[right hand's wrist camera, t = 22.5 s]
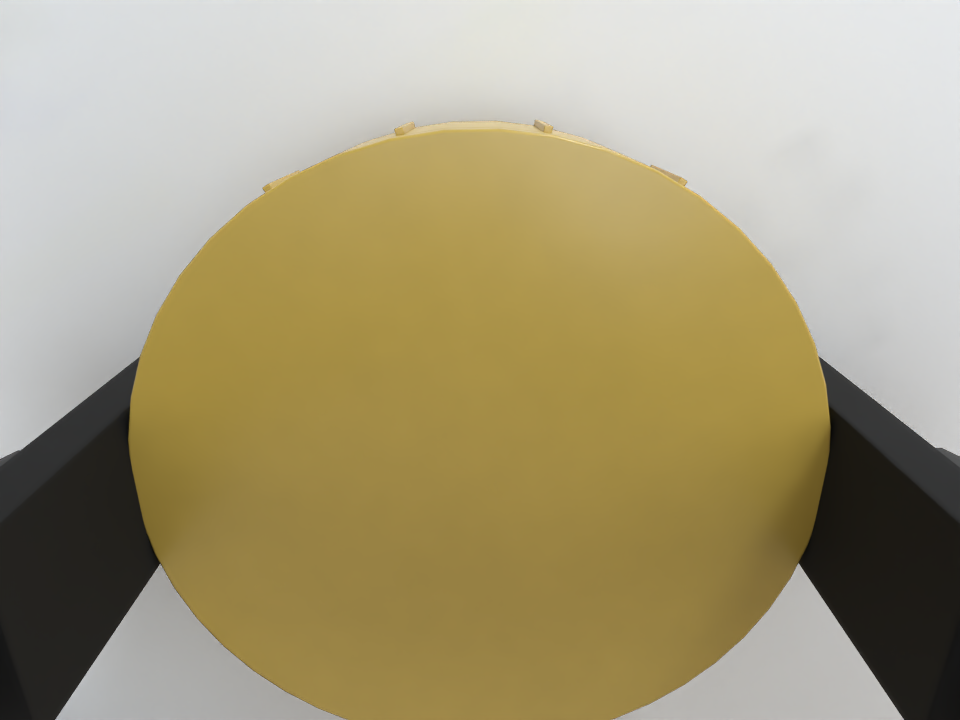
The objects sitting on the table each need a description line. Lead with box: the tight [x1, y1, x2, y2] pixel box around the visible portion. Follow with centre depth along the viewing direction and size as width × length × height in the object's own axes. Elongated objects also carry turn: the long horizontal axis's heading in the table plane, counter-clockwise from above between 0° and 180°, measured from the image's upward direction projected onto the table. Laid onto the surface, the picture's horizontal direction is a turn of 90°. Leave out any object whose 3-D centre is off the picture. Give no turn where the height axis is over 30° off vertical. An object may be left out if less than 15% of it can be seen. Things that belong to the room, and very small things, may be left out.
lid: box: [128, 120, 831, 720], centre depth 11 cm, size 10×10×2 cm
